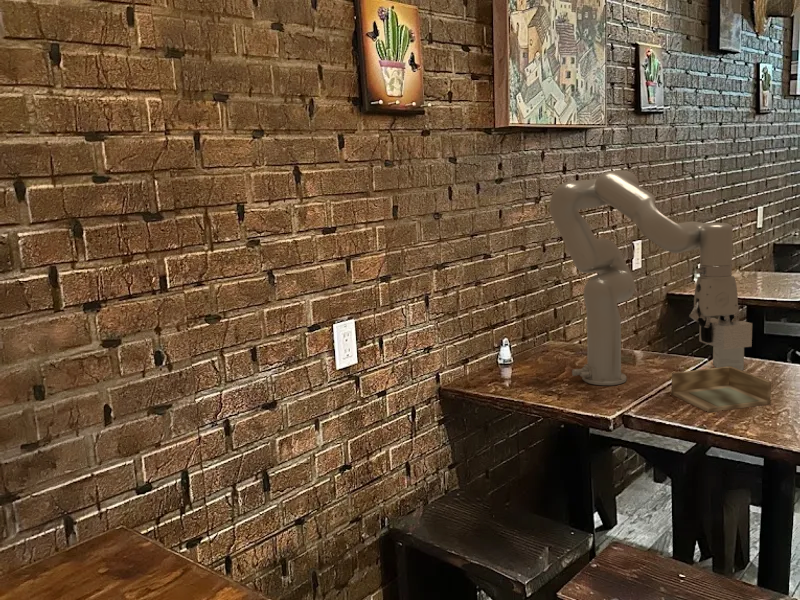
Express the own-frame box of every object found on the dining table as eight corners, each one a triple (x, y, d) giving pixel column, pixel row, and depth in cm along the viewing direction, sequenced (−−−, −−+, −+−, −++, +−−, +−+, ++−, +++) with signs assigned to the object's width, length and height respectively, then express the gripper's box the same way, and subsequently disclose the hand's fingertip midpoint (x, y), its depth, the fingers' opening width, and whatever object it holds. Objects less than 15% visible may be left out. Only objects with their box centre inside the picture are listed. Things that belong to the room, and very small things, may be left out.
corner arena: (708, 412, 180) (708, 389, 179) (671, 394, 195) (671, 373, 194) (770, 404, 183) (771, 381, 182) (729, 386, 199) (730, 366, 198)
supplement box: (744, 370, 213) (745, 329, 211) (717, 370, 215) (718, 329, 213) (737, 364, 220) (739, 324, 218) (712, 364, 222) (713, 324, 220)
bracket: (699, 341, 189) (699, 319, 188) (726, 338, 191) (726, 316, 190) (723, 349, 179) (724, 326, 178) (751, 346, 181) (752, 323, 180)
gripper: (695, 275, 178) (694, 347, 181) (754, 270, 181) (752, 340, 184) (677, 272, 185) (676, 341, 188) (734, 267, 188) (733, 334, 191)
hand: (714, 340), depth 186 cm, fingers closed on bracket, 4 cm apart
